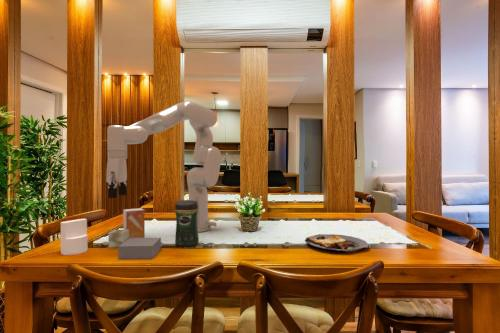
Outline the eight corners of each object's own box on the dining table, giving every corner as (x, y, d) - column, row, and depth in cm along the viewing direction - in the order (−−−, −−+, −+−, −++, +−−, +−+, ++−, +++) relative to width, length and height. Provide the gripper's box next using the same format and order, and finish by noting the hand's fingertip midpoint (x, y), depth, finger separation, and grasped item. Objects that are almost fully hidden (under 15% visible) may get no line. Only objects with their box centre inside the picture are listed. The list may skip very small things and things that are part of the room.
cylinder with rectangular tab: (68, 256, 113) (68, 224, 113) (56, 252, 118) (55, 221, 117) (92, 250, 121) (91, 219, 120) (79, 246, 125) (79, 217, 125)
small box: (126, 240, 135) (125, 211, 134) (123, 237, 140) (123, 209, 140) (145, 238, 139) (144, 209, 139) (141, 235, 144) (141, 207, 144)
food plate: (331, 257, 111) (332, 248, 111) (294, 243, 131) (294, 234, 131) (379, 250, 122) (379, 241, 122) (337, 237, 143) (338, 230, 143)
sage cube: (128, 243, 131) (128, 229, 130) (123, 247, 125) (123, 232, 124) (114, 243, 130) (114, 229, 130) (108, 247, 124) (108, 233, 124)
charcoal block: (160, 249, 122) (160, 237, 122) (152, 259, 110) (152, 245, 110) (130, 250, 122) (130, 237, 121) (118, 260, 110) (118, 246, 109)
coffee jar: (199, 241, 133) (199, 199, 133) (196, 246, 125) (196, 201, 125) (177, 241, 133) (177, 199, 133) (173, 246, 125) (172, 201, 125)
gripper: (117, 155, 135) (117, 194, 136) (98, 155, 118) (99, 199, 118) (134, 155, 135) (134, 194, 136) (118, 155, 118) (118, 199, 118)
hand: (117, 196), depth 127 cm, fingers open, 9 cm apart
